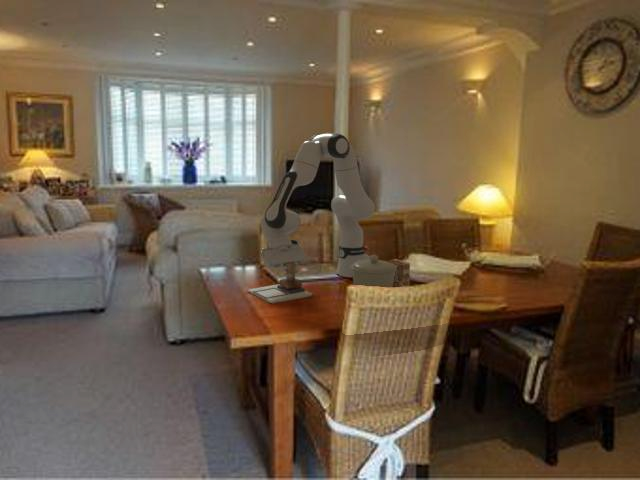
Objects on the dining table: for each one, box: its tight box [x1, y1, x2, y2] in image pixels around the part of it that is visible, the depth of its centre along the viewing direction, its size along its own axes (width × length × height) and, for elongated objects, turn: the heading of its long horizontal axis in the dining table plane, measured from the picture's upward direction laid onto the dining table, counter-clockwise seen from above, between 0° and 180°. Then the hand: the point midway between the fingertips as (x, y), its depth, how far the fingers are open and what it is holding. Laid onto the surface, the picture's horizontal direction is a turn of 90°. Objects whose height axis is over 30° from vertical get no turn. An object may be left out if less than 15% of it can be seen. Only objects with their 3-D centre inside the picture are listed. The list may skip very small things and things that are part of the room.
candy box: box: [389, 258, 411, 287], centre depth 224 cm, size 9×4×15 cm, turn 33°
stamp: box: [279, 263, 303, 289], centre depth 228 cm, size 7×7×10 cm
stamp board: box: [247, 283, 313, 304], centre depth 226 cm, size 20×20×2 cm
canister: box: [351, 254, 397, 287], centre depth 209 cm, size 18×18×21 cm
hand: (291, 273), depth 227 cm, fingers closed on stamp, 4 cm apart
